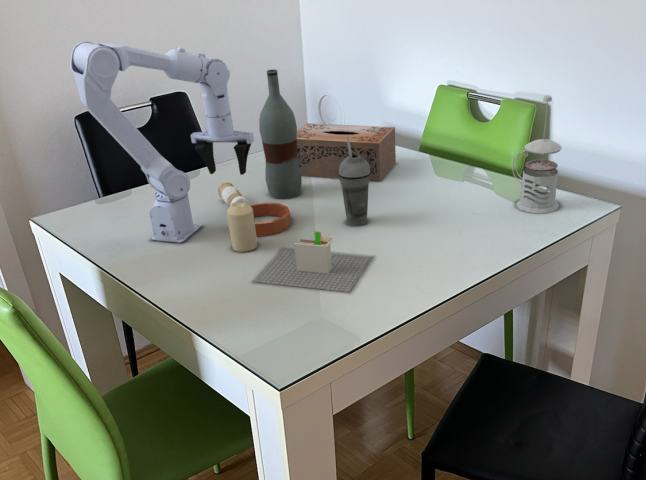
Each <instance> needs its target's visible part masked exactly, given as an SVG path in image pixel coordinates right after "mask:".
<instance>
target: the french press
mask: <svg viewBox="0 0 646 480" xmlns="http://www.w3.org/2000/svg"><path fill="white" fill-rule="evenodd" d="M552 101H553V97H552V96H551V95H549V94H546V95H544V96H543V98H542V102H545V103H546V106H545V117H544V118H545V119H544V129H543V138H540V139H535V140H532V141H530V142H528V143H526V144H525V145H524V150H522V151H520V152H519V153H517V154H516V155H515V156H514V158H513V160H512V163H511V166H512V167H511V170H512V171H511V172H512V175H513V177H514V178H515V179H516V181H518V182H519V183H520V184H521V191H520V199H518V201H517V202H516V203H515V205H516V207H517V209H519V210H520V211H524V212H527V213H530V214H531V213H532V214H547V213H553V212H555V211H556V210H558V209H559V207H560V205H559V203H558V201H557V200H556V197H557V195H556V194H557V186H558V179H559V178H558V177H559V170H558V169H557V168H558V167H559V166H558V163H557V162H555V161H552V160H549V159H543V158H544V155H554V154H557V153H560V152H561V150H562V149H563V147H562V145H561V144H559V143H558V142H556V141H554V140H552V139H547V138H545V136H546V127H547V126H546V125H547V116H548V115H547V114H548V106H549V103H550V102H552ZM529 153H530V154H535V155H541V158H540V159H531V160H529V161H527V162H526V163H525V164H524V166H525V169H523V171H522V176H521V175H520V174H519V171H518V168H517V163H518V159H519V157H520V155H521V154H523V158H524V159H525V158H527V157H528V156H529ZM514 163H515V165H514ZM514 166H515V167H514ZM514 168H515V171H514ZM515 172H516V174H517V176H518V177H519V178H520V179H521V180H522V181H521V180H519V179H518V178H517V176H516V174H515ZM536 172H538V173H536ZM545 172H548V173H545ZM540 187H541V188H540ZM542 187H544V188H542ZM545 188H546V189H545Z"/></svg>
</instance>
